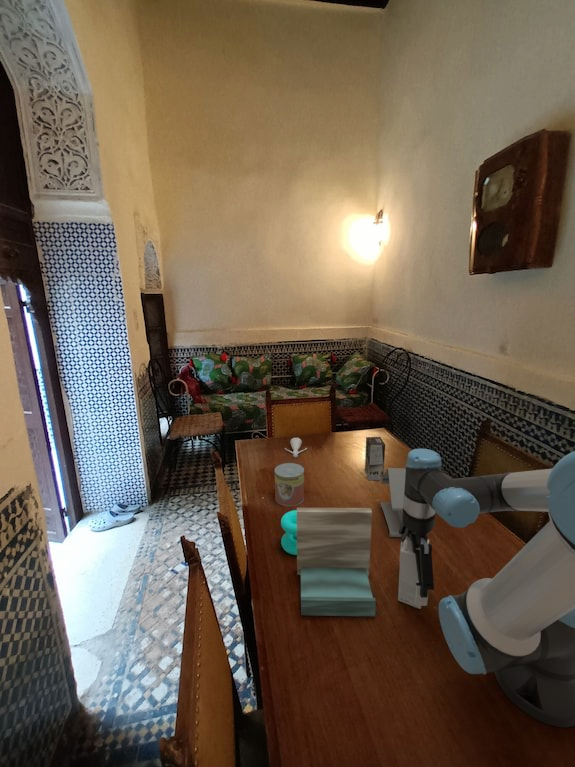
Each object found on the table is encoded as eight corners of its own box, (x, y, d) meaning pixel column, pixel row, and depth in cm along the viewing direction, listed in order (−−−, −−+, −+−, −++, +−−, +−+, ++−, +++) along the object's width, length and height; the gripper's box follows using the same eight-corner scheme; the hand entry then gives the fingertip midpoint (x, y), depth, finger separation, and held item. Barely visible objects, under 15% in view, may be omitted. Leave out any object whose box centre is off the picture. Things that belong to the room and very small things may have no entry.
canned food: (270, 503, 135) (270, 474, 132) (280, 488, 145) (279, 461, 142) (299, 508, 131) (299, 479, 128) (307, 492, 142) (307, 465, 139)
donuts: (274, 520, 108) (292, 504, 116) (274, 548, 111) (292, 531, 119) (302, 532, 103) (319, 514, 111) (302, 561, 105) (319, 542, 113)
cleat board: (379, 616, 87) (383, 545, 82) (297, 615, 88) (296, 545, 83) (367, 570, 102) (370, 508, 97) (297, 569, 102) (296, 507, 97)
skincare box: (420, 610, 89) (425, 559, 85) (396, 600, 92) (399, 551, 88) (426, 586, 96) (431, 538, 92) (403, 578, 99) (407, 531, 95)
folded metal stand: (420, 539, 114) (425, 482, 109) (390, 538, 115) (393, 482, 110) (406, 506, 132) (409, 456, 127) (380, 505, 133) (382, 455, 128)
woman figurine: (307, 435, 188) (307, 452, 171) (307, 443, 189) (307, 460, 172) (284, 435, 188) (283, 452, 171) (285, 443, 190) (283, 460, 172)
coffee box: (383, 480, 150) (385, 445, 146) (368, 480, 150) (370, 445, 146) (378, 470, 159) (380, 436, 155) (364, 470, 159) (365, 436, 155)
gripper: (456, 546, 75) (445, 626, 81) (417, 483, 100) (411, 548, 105) (420, 545, 76) (412, 625, 81) (390, 483, 100) (386, 548, 105)
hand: (412, 582), depth 93 cm, fingers open, 13 cm apart
